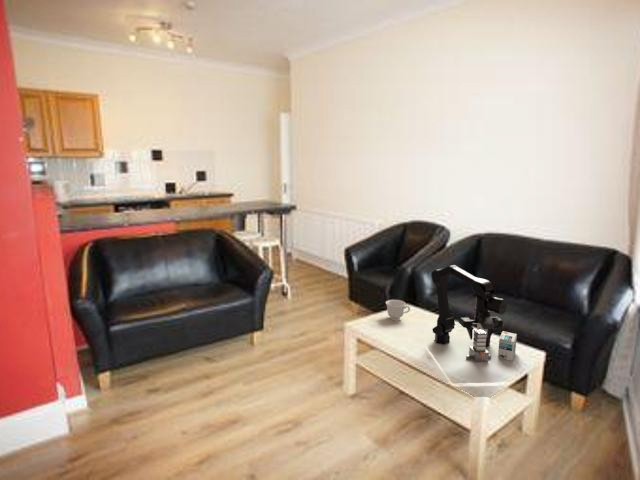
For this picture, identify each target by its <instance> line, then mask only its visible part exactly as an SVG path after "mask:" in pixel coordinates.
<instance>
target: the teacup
mask: <svg viewBox="0 0 640 480" xmlns="http://www.w3.org/2000/svg"><path fill="white" fill-rule="evenodd" d="M385 304H386V310H387V311H386V312H387V316H389V317H390V320H392V321H399V320H401V317H403V315H404V314H407V313H409V312H410V311H411V306H409V305H408V304H407V303H406V302H405V301H404V300H400V299H388V300H386V301H385ZM405 309H408V310H406V311H405Z"/></svg>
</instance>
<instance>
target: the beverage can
mask: <svg viewBox="0 0 640 480" xmlns="http://www.w3.org/2000/svg"><path fill="white" fill-rule="evenodd" d="M476 330H484V331H485V332H486V333H487V329H483V328H482V326H481V324H476ZM486 337H487V335H486ZM491 337H492V336H491ZM491 337H490V339H488V338H486V347H485V348H489V347H490V346H491Z"/></svg>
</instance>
